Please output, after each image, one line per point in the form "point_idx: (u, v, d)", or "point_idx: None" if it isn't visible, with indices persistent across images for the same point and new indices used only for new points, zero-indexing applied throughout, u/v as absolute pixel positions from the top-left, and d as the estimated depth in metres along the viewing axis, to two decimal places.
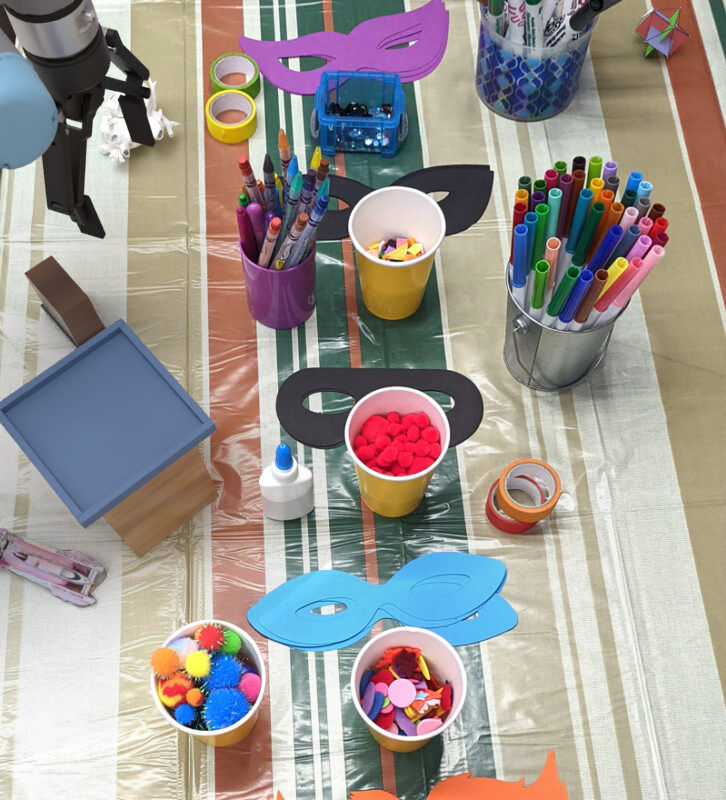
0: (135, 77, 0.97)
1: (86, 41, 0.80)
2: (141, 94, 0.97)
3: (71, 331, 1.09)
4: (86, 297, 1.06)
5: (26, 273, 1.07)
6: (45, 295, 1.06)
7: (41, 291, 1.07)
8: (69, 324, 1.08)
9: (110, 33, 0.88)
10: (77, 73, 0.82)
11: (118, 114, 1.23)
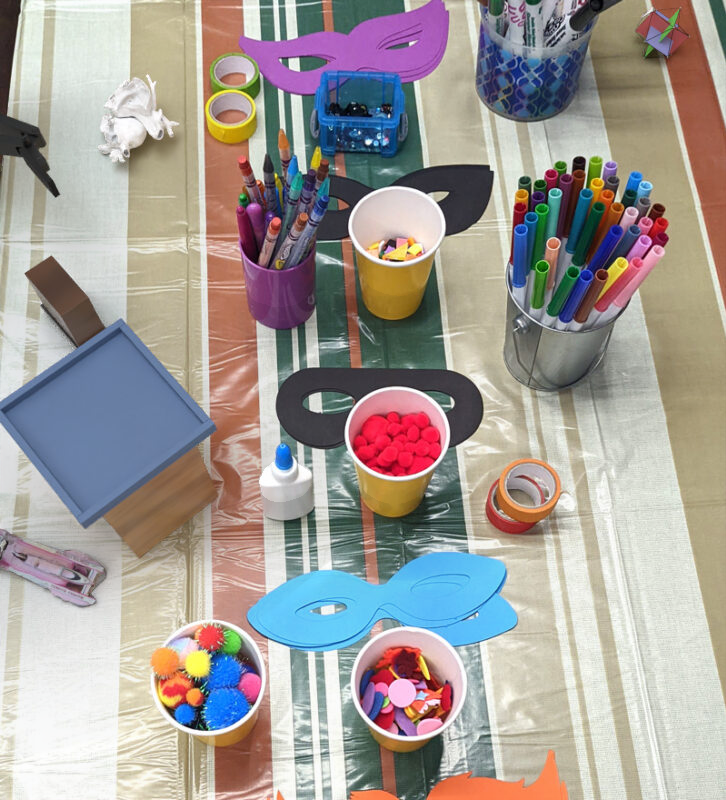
0: None
1: None
2: None
3: (71, 331, 1.09)
4: (86, 297, 1.06)
5: (26, 273, 1.07)
6: (45, 295, 1.06)
7: (41, 291, 1.07)
8: (69, 324, 1.08)
9: None
10: None
11: (118, 114, 1.23)
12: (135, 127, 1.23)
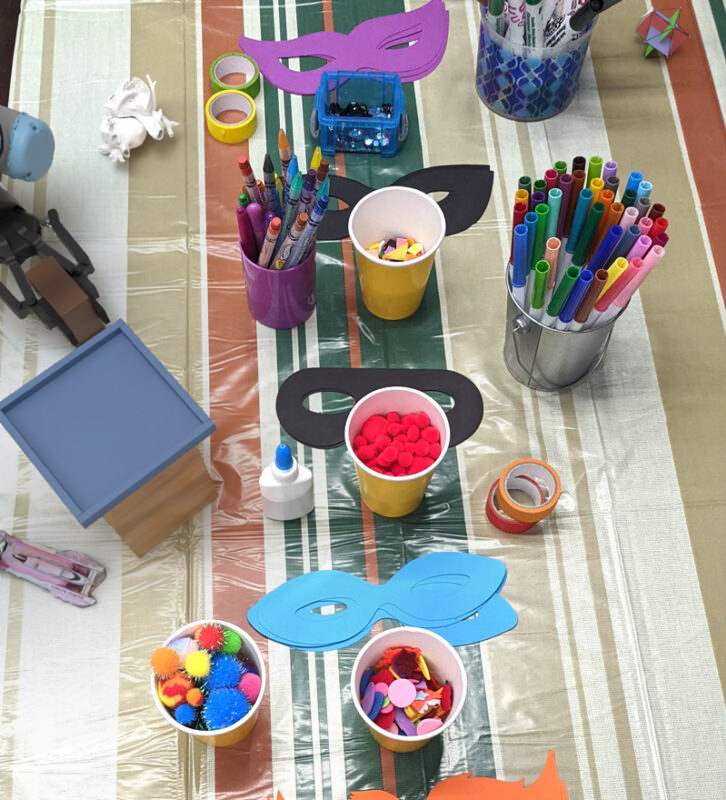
0: None
1: None
2: None
3: None
4: (86, 297, 1.06)
5: (26, 273, 1.07)
6: (45, 295, 1.06)
7: (41, 291, 1.07)
8: (69, 324, 1.08)
9: None
10: None
11: (118, 114, 1.23)
12: (135, 127, 1.23)
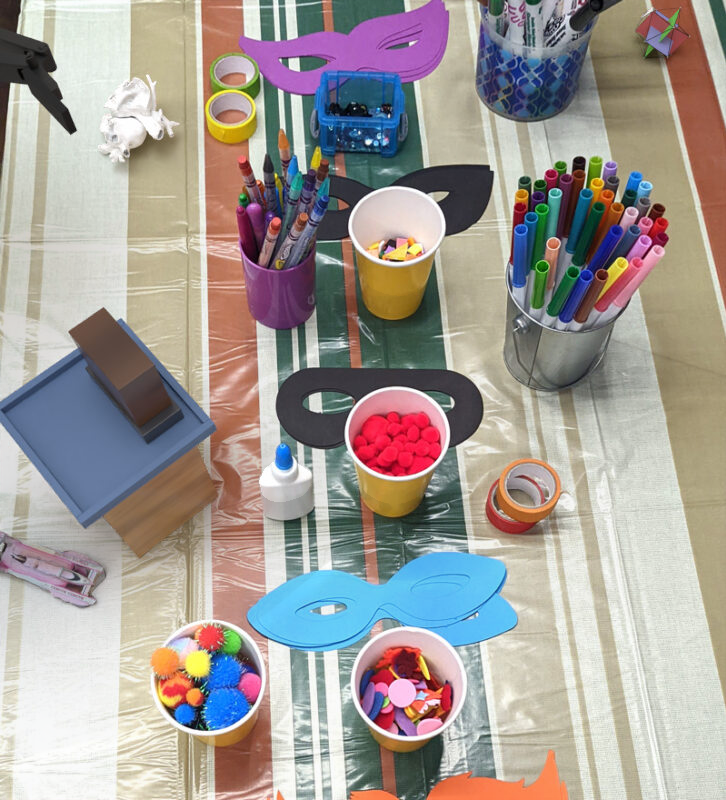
0: None
1: None
2: None
3: (129, 407, 0.82)
4: (151, 364, 0.80)
5: (71, 331, 0.81)
6: (97, 361, 0.80)
7: (91, 356, 0.80)
8: (128, 399, 0.81)
9: None
10: None
11: (118, 114, 1.23)
12: (135, 127, 1.23)
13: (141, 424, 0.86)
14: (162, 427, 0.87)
